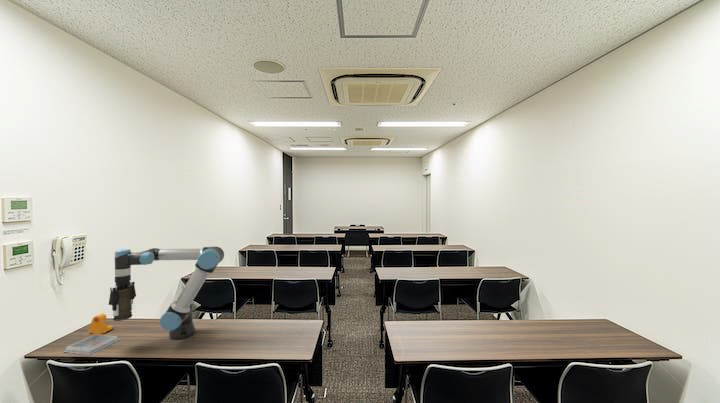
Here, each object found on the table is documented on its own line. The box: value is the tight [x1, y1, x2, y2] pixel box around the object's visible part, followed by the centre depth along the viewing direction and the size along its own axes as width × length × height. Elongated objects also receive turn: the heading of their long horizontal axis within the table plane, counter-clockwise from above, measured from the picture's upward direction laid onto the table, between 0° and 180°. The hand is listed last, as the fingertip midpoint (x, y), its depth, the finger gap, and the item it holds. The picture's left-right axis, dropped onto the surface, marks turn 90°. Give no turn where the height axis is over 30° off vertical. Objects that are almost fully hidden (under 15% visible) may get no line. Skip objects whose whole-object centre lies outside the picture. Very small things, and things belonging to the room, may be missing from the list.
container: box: [112, 287, 133, 322], centre depth 176 cm, size 9×9×18 cm
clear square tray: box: [62, 334, 120, 356], centre depth 178 cm, size 18×18×3 cm
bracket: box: [87, 313, 114, 335], centre depth 198 cm, size 11×7×12 cm, turn 92°
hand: (122, 312), depth 176 cm, fingers closed on container, 8 cm apart
